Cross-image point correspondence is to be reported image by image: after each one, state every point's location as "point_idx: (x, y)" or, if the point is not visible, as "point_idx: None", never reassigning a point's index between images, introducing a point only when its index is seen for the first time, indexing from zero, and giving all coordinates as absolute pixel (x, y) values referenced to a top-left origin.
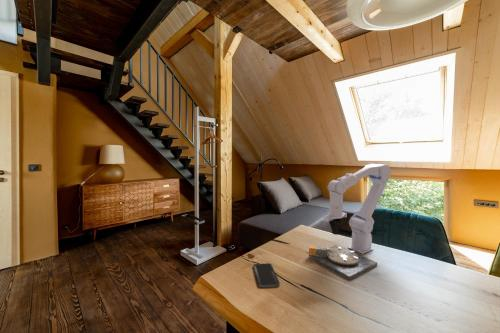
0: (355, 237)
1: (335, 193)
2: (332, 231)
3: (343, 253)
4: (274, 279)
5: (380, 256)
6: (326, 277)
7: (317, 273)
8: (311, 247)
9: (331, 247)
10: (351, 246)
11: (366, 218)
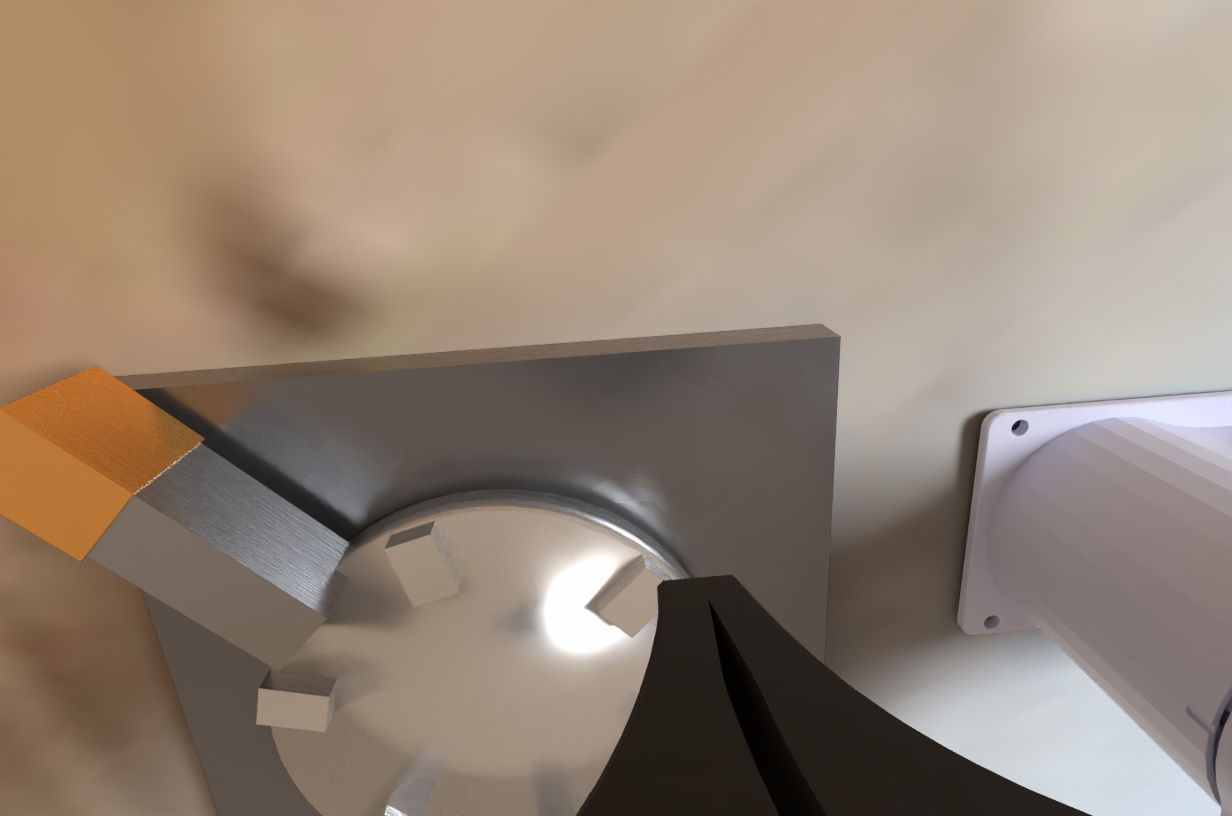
0: (1133, 652)
1: None
2: (658, 622)
3: (554, 703)
4: None
5: (1073, 732)
6: (64, 785)
7: (3, 702)
8: (9, 488)
9: (681, 367)
10: (1060, 432)
11: None
